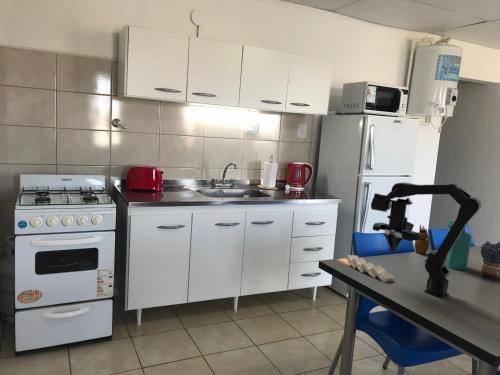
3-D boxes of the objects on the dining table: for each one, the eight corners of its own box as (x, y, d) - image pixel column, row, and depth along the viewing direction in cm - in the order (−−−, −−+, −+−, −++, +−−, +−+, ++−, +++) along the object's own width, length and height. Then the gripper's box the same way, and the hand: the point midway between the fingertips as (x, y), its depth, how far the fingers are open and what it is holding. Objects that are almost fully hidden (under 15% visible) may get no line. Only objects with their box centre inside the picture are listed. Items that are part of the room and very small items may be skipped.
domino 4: (383, 273, 174) (370, 262, 180) (375, 274, 171) (362, 263, 177) (382, 276, 175) (368, 265, 181) (374, 278, 172) (360, 266, 178)
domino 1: (357, 263, 186) (345, 258, 193) (349, 264, 184) (337, 259, 191) (357, 267, 187) (345, 261, 194) (348, 268, 184) (336, 262, 191)
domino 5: (394, 277, 170) (379, 265, 176) (385, 278, 167) (371, 267, 173) (392, 280, 170) (378, 268, 176) (384, 282, 168) (370, 270, 174)
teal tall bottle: (460, 265, 201) (467, 220, 198) (468, 270, 193) (475, 223, 190) (439, 262, 202) (446, 218, 199) (446, 268, 193) (453, 221, 190)
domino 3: (372, 269, 178) (362, 257, 185) (362, 269, 176) (352, 258, 183) (371, 272, 179) (361, 260, 186) (361, 272, 177) (351, 261, 184)
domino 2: (365, 265, 183) (356, 255, 190) (355, 264, 181) (347, 255, 189) (364, 268, 184) (355, 258, 191) (354, 268, 182) (346, 258, 189)
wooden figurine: (412, 253, 216) (416, 224, 214) (414, 250, 221) (417, 222, 219) (426, 255, 213) (430, 226, 211) (427, 253, 218) (431, 225, 216)
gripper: (431, 218, 163) (425, 257, 165) (391, 208, 178) (387, 244, 180) (412, 219, 157) (407, 260, 159) (374, 209, 172) (369, 246, 174)
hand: (392, 252), depth 168 cm, fingers closed
